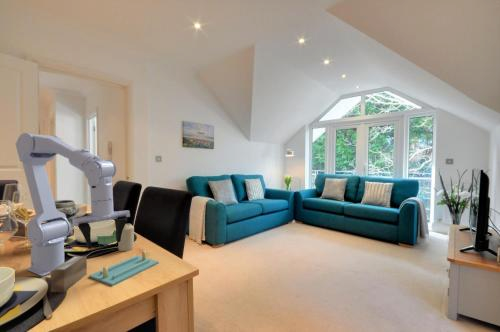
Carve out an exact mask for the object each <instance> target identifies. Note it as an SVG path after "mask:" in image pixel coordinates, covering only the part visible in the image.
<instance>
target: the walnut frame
mask: <svg viewBox="0 0 500 332" xmlns="http://www.w3.org/2000/svg"><path fill="white" fill-rule="evenodd" d="M87 259H88V258H87V255H75V256H72V257H71V258H69V259H68V260H66V261H64V263H63V264H61V265H60V266H58V267H57V268H55V269H53V270H52V271H51V273H50V293H51V292H55V293H56V292H58V293H59V294H60V293H61V294H62V293H66V292H67V291H68V290H69V289H71V288H72V287H73V286H74V285H75V284H77V283H78V282H80V280H82V279H83V278H84V277H85V276H87V275H88V273H87V271H88V270H87V267H88V266H87V265H88V264H87V263H88V262H87ZM56 294H57V293H56Z"/></svg>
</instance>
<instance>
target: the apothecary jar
mask: <svg viewBox="0 0 500 332" xmlns="http://www.w3.org/2000/svg"><path fill="white" fill-rule="evenodd" d="M54 202H55V206H56V210H58V211H60V212H62V213H64V214H65V215H66V218H67V220H68V221H69V223H70V225H71V231H70V233H69V234H68V235H67V239H65V240H64V243H70V242H72V241H73V239H74V238H71V237H73V236H74V229H73V228H74V225H73V218H77V214H78V213H79V211H80V207H79V206H78V205H76V202H75V200H73V199H59V200H54ZM51 221H52V220H50V221H46V222H51Z"/></svg>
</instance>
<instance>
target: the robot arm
mask: <svg viewBox="0 0 500 332" xmlns="http://www.w3.org/2000/svg"><path fill="white" fill-rule="evenodd" d="M15 146H16V151H17V155H18V159H19V161H20V162H21V163H22V166H23V167H22V168H23V171H24V174H25V178H26V179H25V180H26V182H27V186H28V190H29V193H30V194H29V195H30V198H31V202H32V206H33V209H34V214H35V215H34V216H33V217H32V218H31V219H30V220H29V221H28V222H27V223H26V225H27V240H28V241H29V243H31V245H32V246H31V248H30V267H28V268H26V270H27V271H29V272H31V273H33V274H36V275H39V276H40V277H45V276H48V275H49V274H50V275H51V271H52V270H53V269H55V268H57V267H58V266H60V265H61V264H63V263H65V247H64V240H65V239H67V235H68V234H69V233H70V231H71V225H70V223H69V221H68V220H67V218H66V215H65V214H64V213H62V212H60V211H58V210H56V206H55V202H54V201H55V199H54V195H53V191H52V187H51V183H50V180H49V177H48V172H47V168H46V164H47V163H49V162H51V161H52V160H53V159H54V158H55V157H56V156H57V155H59V156H62V157H63V158H66V159H68V162H69V164H70V166H73V167H74V168H76V169H78V170H79V171H81V172H83V173H84V177H85V178H86V179H87V184H88V185H89V189H90V190H89V191H90V209H91V214H90V215H89V214H88V215H84V216H80V217H76V218H73V225H74V226H78V227H79V231H80V232H81V234H82V236H83V238H84V241H85V243H86V246H87V249H88V250H91V249H92V239H91V238H92V237H91V228H92V226H90V224H93V223H98V222H105V221H110V220H114V226H115V230H116V241H117V242H120V241H121V235H122V231H123V229H124V226H125V224H127V222H128V218H130V217H131V213H130V212H131V211H130V210H127V209H126V210H119V211H117V210H116V211H114V195H113V194H114V191H113V178H114V177H115V175H116V173H117V167H116V164H115V163H114V162H113V161H112V160H111V159H105V160H103V159H102V158H101V157H100V156H98V155H95V154H92V153H91V152H90V150H89V149H87V148H78V149H76V148H74V147H73V146H72V145H69V144H68V143H66V142H65V141H64V140H63V138H61V137H59V136H57V135H54V134H53V135H47V134H37V133H36V134H34V133H29V132H24V133H21V134H20V135H19V136H18V138H17V140H16V142H15ZM50 220H52V221H51V222H47V221H50Z"/></svg>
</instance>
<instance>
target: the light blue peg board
mask: <svg viewBox="0 0 500 332" xmlns="http://www.w3.org/2000/svg"><path fill="white" fill-rule="evenodd" d="M157 264H159V260H155V259H152V258H148V257H147V251H146V250H143V251H141V255H134V256H132V257H129V258H127V259H125V260H123V261H120V262H118V263H115V264H113V265H111V266H103V268H102V269H101V270H99V271H96V272H94V273H92V274H89V276H88V278H90V279H93V280H95V281H98V282H100V283H103V284H106V285H108V286H111V287H114V286H116V285H117V284H120V283H122V282H124V281H126V280H128V279H129V278H131V277H134V276H136V275H137V274H139V273H142V272H143V271H146V270H148V269H150V268H152V267H154V266H156V265H157Z"/></svg>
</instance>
